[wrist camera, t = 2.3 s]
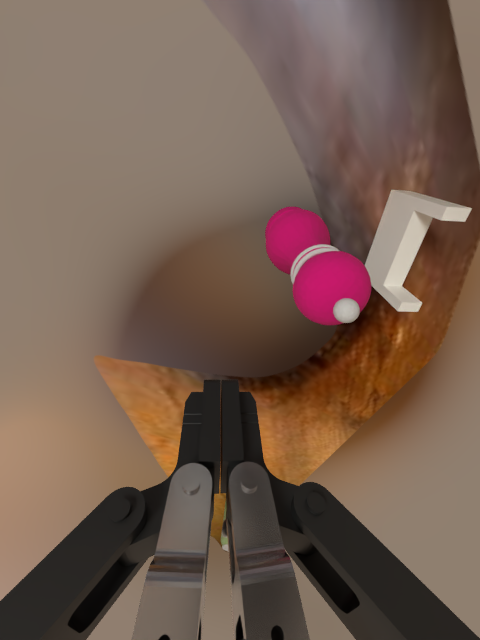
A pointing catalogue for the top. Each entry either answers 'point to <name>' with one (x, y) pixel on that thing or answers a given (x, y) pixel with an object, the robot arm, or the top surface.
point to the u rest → (404, 242)
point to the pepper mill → (317, 267)
